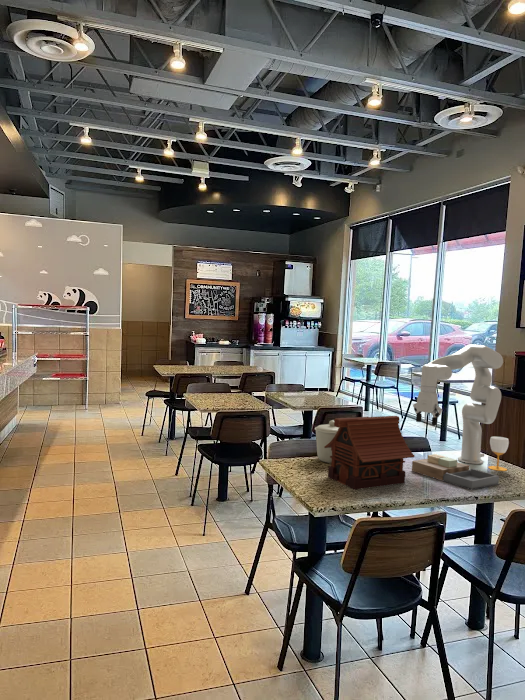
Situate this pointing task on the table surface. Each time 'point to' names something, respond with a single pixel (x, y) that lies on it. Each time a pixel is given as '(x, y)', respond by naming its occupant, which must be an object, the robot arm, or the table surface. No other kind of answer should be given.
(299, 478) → the table surface
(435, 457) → the maple block
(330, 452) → the canister
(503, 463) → the table surface
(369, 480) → the house
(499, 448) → the cup
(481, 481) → the tray
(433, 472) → the tan wooden board
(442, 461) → the sage block
